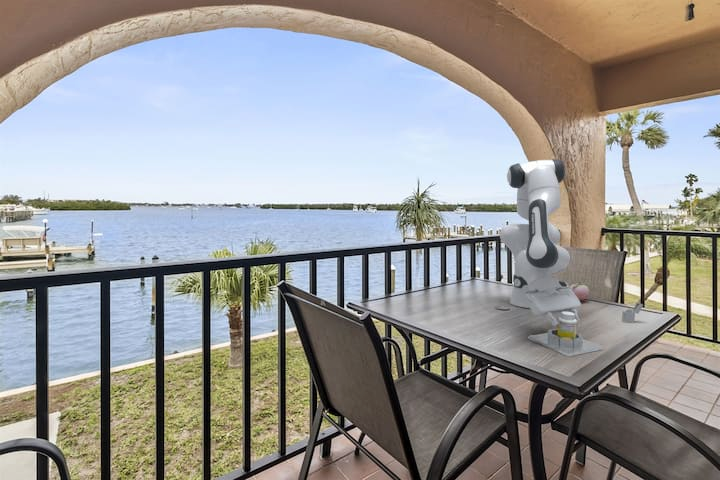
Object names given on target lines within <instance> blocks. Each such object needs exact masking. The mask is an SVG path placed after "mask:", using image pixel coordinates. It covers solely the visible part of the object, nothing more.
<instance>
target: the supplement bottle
mask: <svg viewBox="0 0 720 480" xmlns="http://www.w3.org/2000/svg"><path fill="white" fill-rule="evenodd" d="M574 318H575V314H574V313H572V312H566V311H564V312H561V313H560V316H559V317H558V318H557V319H558V321H559V322H560V324H559V325H557V329H558V335H557V336H559V337H562V336H565V337H571V339H574V338H576V333H577V327H578V326H577V325H578V322H577V320H576V319H574Z"/></svg>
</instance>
